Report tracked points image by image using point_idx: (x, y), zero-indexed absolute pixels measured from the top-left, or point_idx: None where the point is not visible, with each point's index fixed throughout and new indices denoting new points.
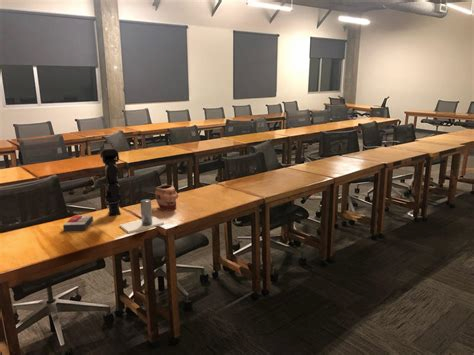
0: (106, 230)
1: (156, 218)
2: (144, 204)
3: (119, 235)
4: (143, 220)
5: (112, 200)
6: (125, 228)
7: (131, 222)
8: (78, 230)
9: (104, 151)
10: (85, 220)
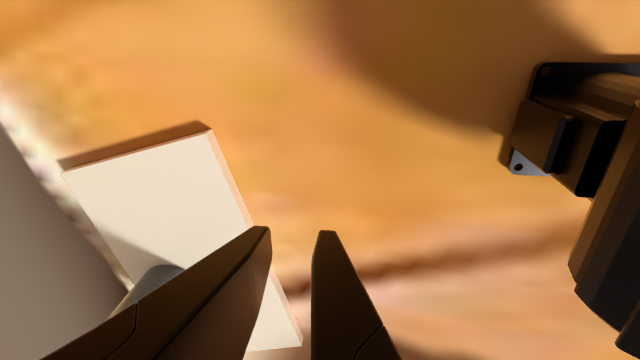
0: (147, 9)
1: (257, 346)
2: None
3: (37, 105)
4: (124, 298)
5: (607, 183)
6: (118, 163)
7: (232, 217)
8: None
9: None
10: None
